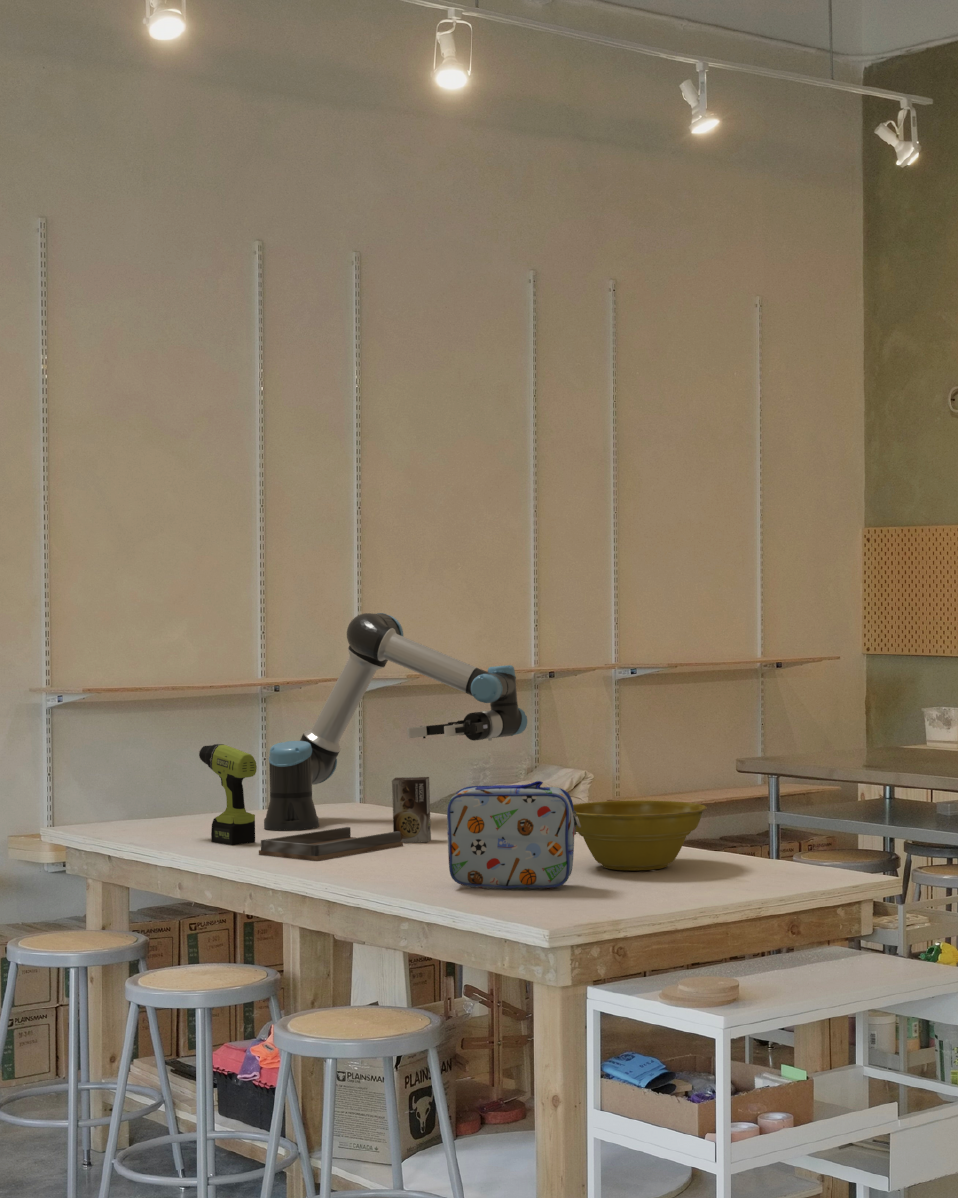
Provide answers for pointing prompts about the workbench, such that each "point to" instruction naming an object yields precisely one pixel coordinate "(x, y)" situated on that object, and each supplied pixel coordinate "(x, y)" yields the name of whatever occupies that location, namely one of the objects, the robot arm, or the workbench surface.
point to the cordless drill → (231, 793)
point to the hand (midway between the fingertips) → (426, 732)
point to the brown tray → (327, 844)
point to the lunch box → (511, 836)
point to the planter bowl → (636, 831)
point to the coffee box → (411, 808)
